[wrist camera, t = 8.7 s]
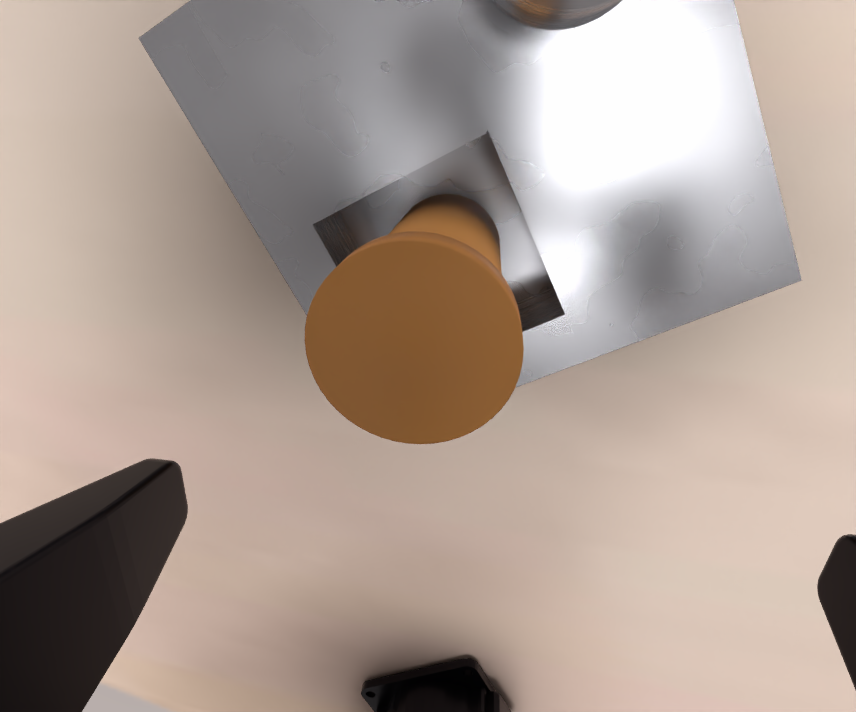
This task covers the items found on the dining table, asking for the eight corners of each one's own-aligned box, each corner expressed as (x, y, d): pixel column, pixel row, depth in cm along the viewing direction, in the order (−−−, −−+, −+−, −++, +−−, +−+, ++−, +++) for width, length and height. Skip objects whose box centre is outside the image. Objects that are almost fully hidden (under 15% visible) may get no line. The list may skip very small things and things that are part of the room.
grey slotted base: (401, 378, 20) (363, 489, 14) (218, 55, 16) (59, 21, 10) (734, 244, 17) (867, 315, 11) (607, -207, 13) (705, -485, 7)
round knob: (420, 324, 17) (370, 469, 10) (364, 218, 16) (263, 299, 9) (529, 277, 16) (557, 402, 9) (478, 159, 15) (465, 199, 8)
